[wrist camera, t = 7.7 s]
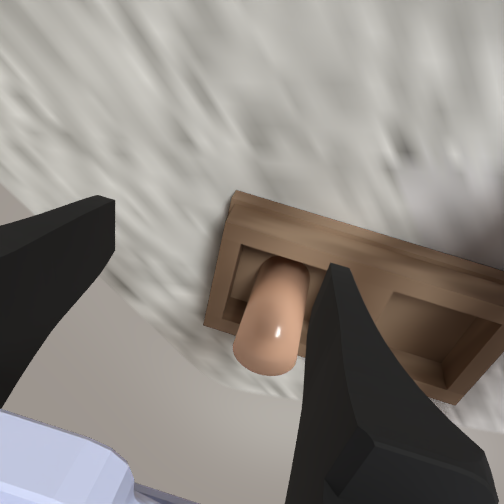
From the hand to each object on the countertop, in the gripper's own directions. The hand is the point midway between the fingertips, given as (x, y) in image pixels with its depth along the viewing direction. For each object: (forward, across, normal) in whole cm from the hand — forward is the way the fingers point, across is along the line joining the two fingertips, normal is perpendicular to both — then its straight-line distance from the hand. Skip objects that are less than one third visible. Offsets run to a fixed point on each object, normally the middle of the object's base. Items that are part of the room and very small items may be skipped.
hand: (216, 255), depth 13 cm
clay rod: (+8, -3, +6) cm, 11 cm away
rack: (+9, -7, +7) cm, 13 cm away
